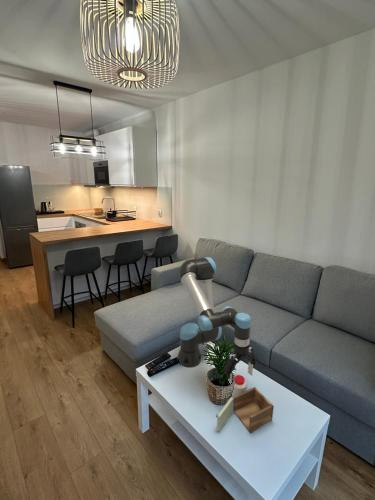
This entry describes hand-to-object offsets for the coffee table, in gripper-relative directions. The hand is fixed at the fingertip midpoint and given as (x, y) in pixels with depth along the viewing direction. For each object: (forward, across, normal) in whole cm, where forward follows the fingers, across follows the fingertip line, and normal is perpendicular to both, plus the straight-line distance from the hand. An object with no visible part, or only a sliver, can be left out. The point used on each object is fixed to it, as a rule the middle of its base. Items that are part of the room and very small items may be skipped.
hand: (239, 378), depth 137 cm
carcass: (+12, -2, -12) cm, 17 cm away
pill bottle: (+12, 0, +1) cm, 12 cm away
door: (+11, -15, -8) cm, 21 cm away
